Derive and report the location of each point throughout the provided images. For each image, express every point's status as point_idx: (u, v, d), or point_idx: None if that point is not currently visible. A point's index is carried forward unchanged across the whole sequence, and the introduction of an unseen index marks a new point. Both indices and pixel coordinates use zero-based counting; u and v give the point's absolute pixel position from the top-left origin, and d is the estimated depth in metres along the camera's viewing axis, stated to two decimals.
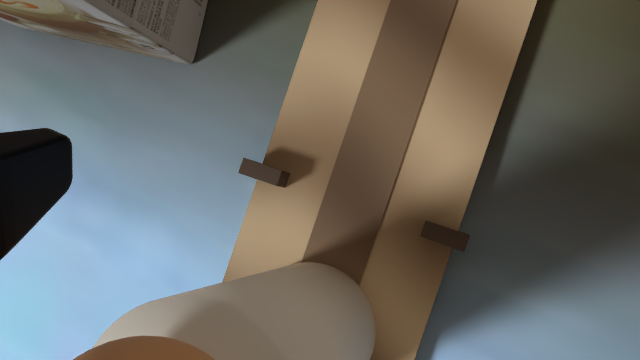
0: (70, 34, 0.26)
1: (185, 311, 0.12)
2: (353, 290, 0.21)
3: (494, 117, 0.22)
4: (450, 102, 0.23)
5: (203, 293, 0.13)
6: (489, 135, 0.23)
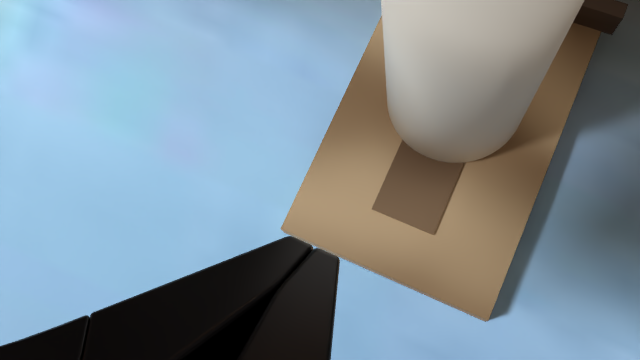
0: None
1: None
2: None
3: None
4: None
5: None
6: None
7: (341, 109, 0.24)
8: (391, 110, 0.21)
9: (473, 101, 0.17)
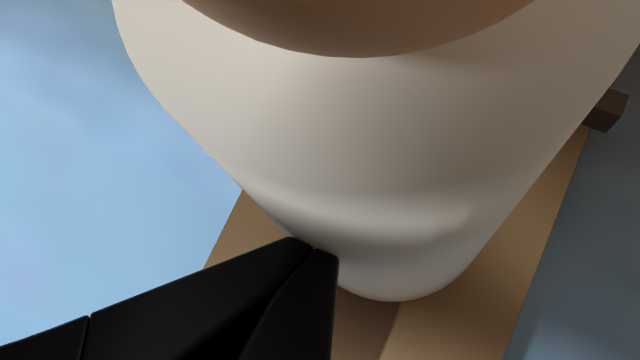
0: None
1: None
2: None
3: None
4: None
5: None
6: None
7: (227, 232, 0.17)
8: None
9: (381, 273, 0.10)
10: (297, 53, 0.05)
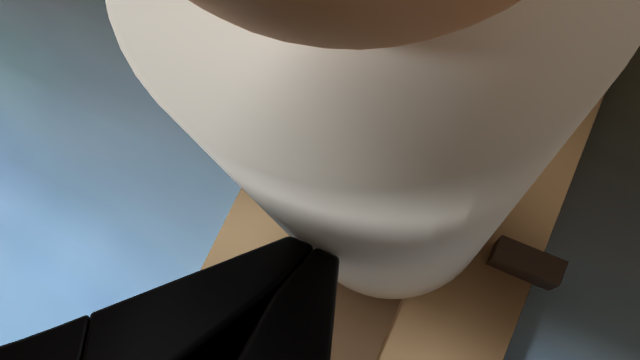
0: None
1: None
2: None
3: (594, 110, 0.16)
4: None
5: None
6: (587, 132, 0.16)
7: None
8: None
9: (382, 271, 0.10)
10: (294, 45, 0.05)
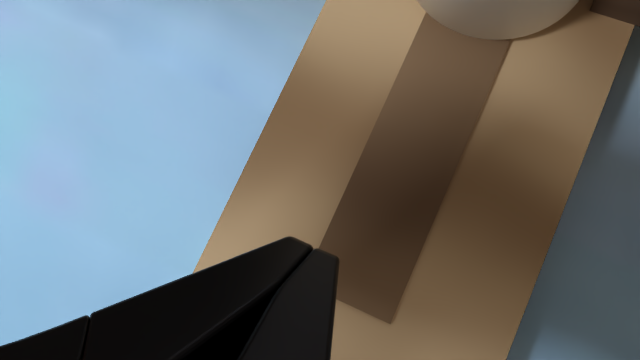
0: None
1: None
2: None
3: None
4: None
5: None
6: None
7: (265, 137, 0.17)
8: None
9: None
10: None
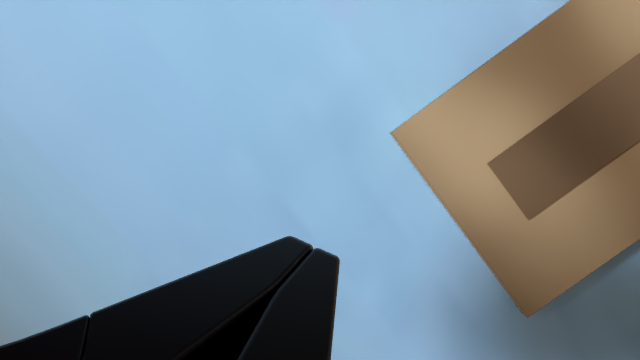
0: None
1: None
2: None
3: None
4: None
5: None
6: None
7: (517, 45, 0.21)
8: None
9: None
10: None
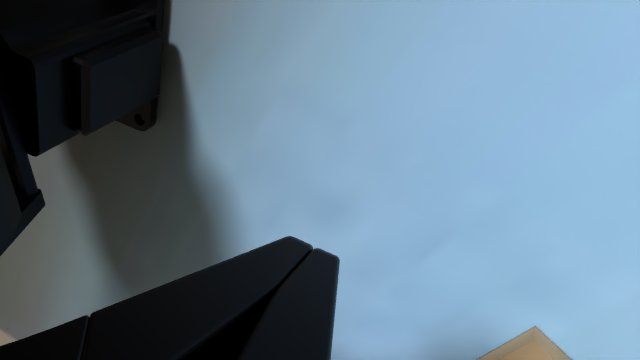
0: None
1: None
2: None
3: None
4: None
5: None
6: None
7: None
8: None
9: None
10: None
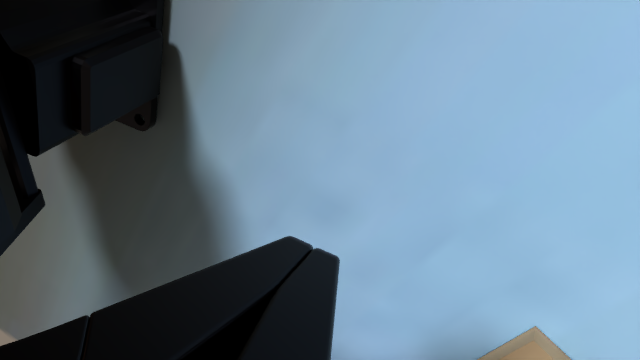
0: None
1: None
2: None
3: None
4: None
5: None
6: None
7: None
8: None
9: None
10: None
